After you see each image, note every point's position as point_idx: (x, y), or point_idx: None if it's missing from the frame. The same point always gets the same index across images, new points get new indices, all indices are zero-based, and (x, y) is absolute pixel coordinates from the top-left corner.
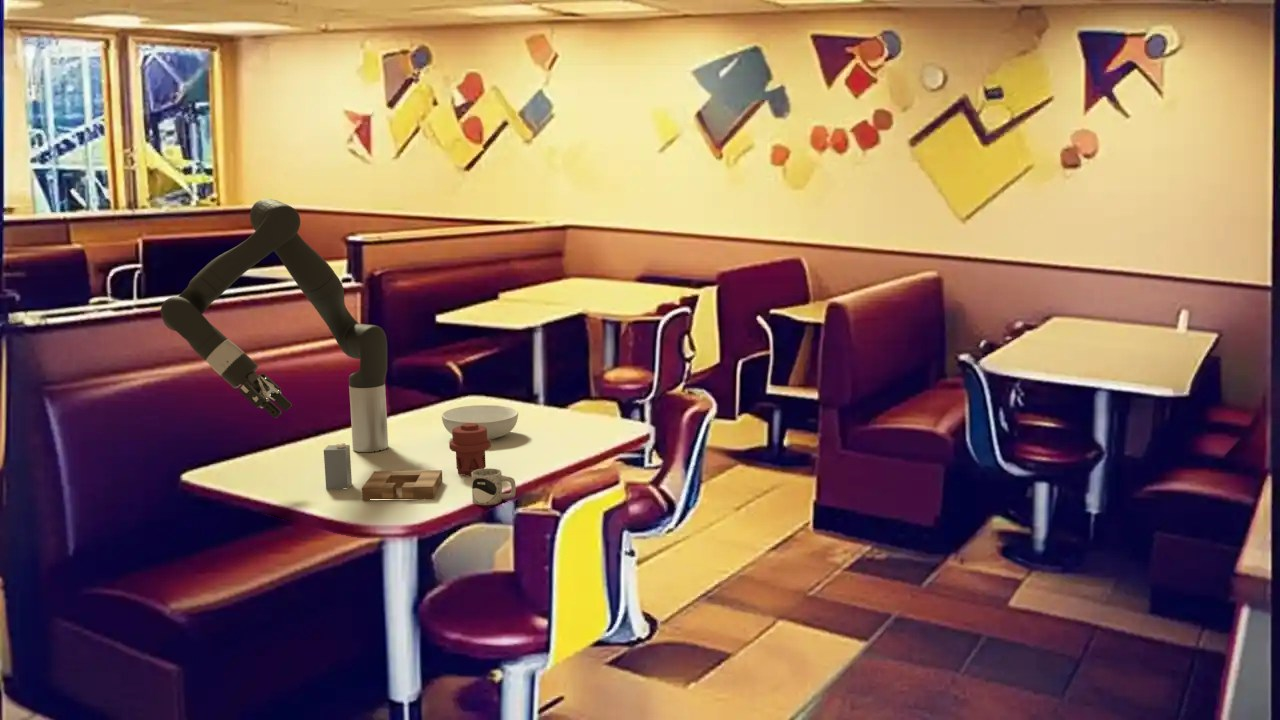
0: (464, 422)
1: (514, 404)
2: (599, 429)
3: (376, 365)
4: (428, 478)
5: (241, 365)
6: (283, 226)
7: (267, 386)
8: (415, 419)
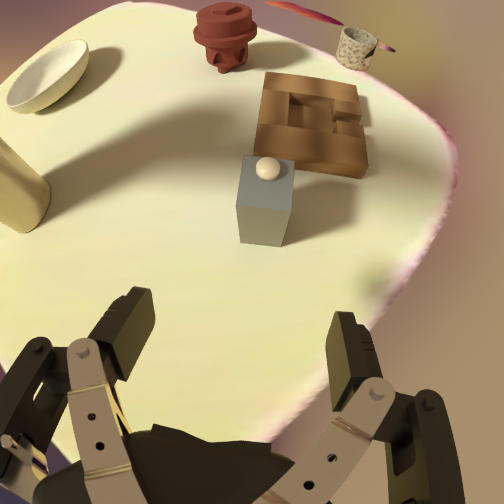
0: (70, 69)
1: None
2: (98, 22)
3: None
4: (313, 85)
5: None
6: None
7: (131, 443)
8: None
